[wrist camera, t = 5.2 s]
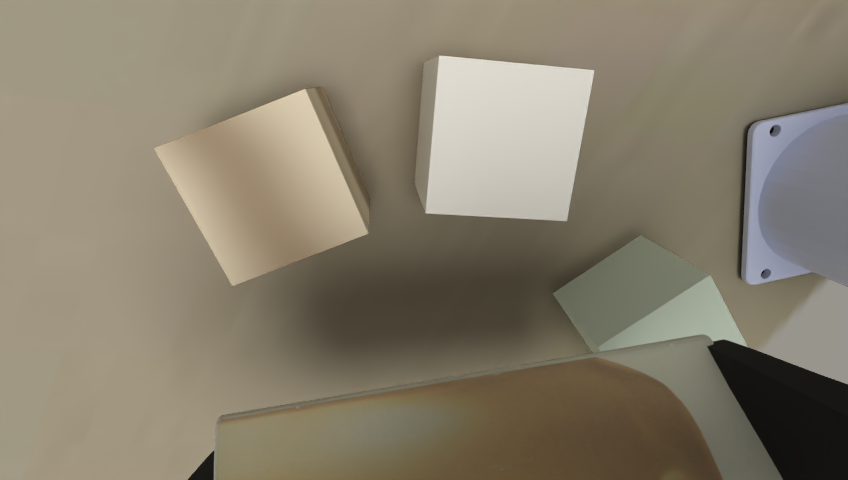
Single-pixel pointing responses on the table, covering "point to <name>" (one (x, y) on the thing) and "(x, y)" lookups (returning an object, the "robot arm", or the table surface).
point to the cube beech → (270, 184)
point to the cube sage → (645, 300)
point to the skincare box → (514, 425)
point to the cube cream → (499, 137)
